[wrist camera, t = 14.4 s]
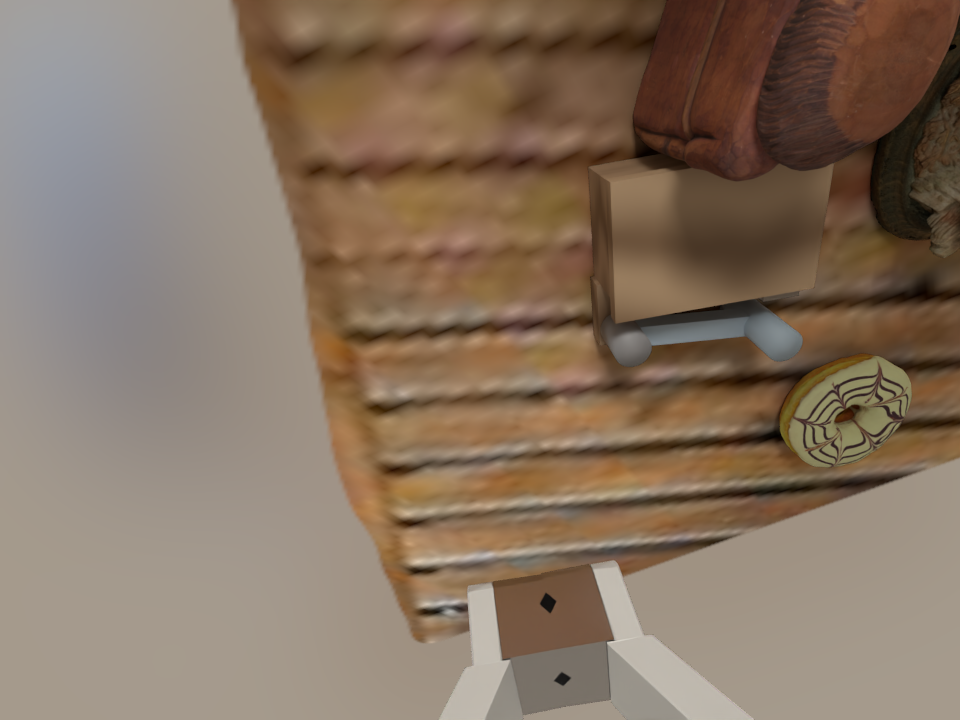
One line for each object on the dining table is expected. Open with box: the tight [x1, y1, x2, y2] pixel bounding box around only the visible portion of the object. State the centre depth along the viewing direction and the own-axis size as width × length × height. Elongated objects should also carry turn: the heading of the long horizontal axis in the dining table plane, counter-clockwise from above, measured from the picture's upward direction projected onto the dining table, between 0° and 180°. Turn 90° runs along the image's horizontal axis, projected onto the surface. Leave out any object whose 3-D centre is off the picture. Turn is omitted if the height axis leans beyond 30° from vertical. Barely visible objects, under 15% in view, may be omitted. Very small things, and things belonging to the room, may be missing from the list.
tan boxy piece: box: [588, 154, 834, 346], centre depth 38 cm, size 14×13×7 cm
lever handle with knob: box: [600, 299, 803, 367], centre depth 40 cm, size 13×3×7 cm, turn 94°
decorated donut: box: [779, 354, 912, 468], centre depth 48 cm, size 10×11×4 cm
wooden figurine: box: [633, 0, 960, 182], centre depth 27 cm, size 12×6×18 cm, turn 167°
